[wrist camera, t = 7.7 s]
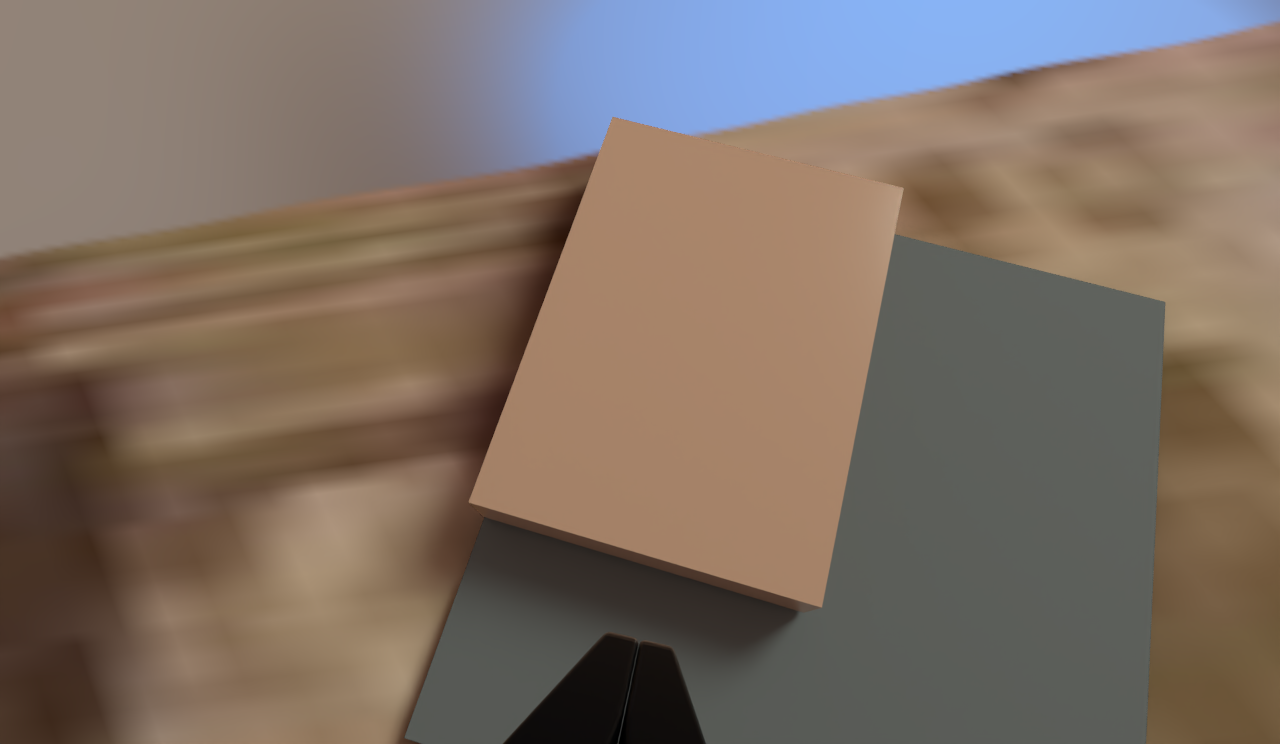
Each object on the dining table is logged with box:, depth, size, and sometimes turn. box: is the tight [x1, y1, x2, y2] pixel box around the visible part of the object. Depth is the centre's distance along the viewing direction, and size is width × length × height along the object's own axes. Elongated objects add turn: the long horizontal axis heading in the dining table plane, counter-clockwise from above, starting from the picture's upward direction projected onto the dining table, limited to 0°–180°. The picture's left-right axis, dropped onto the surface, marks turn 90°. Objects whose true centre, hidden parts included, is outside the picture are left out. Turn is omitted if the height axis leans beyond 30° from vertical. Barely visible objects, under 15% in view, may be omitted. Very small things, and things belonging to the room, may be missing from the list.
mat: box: [404, 234, 1165, 744], centre depth 19 cm, size 16×16×1 cm
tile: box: [468, 117, 904, 613], centre depth 19 cm, size 2×8×11 cm
